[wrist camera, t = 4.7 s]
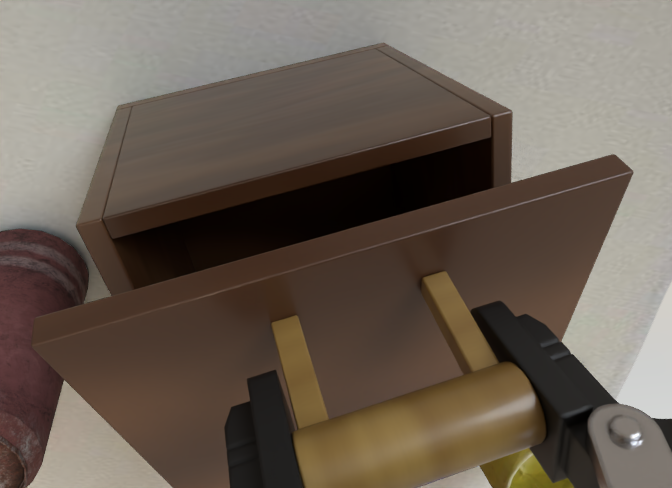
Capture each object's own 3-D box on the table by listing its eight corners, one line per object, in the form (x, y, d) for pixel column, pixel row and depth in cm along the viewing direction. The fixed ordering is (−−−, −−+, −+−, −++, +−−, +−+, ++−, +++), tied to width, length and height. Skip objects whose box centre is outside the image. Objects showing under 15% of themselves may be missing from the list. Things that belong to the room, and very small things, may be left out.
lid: (32, 316, 12) (-2, 593, 8) (614, 152, 13) (797, 316, 10) (231, 531, 25) (251, 669, 22) (507, 435, 27) (567, 547, 23)
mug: (453, 481, 49) (529, 556, 40) (430, 387, 46) (506, 444, 37) (553, 424, 52) (644, 480, 43) (537, 334, 50) (630, 374, 41)
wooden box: (117, 105, 27) (74, 225, 16) (384, 42, 29) (513, 110, 18) (216, 349, 36) (232, 531, 25) (411, 290, 38) (506, 435, 27)
